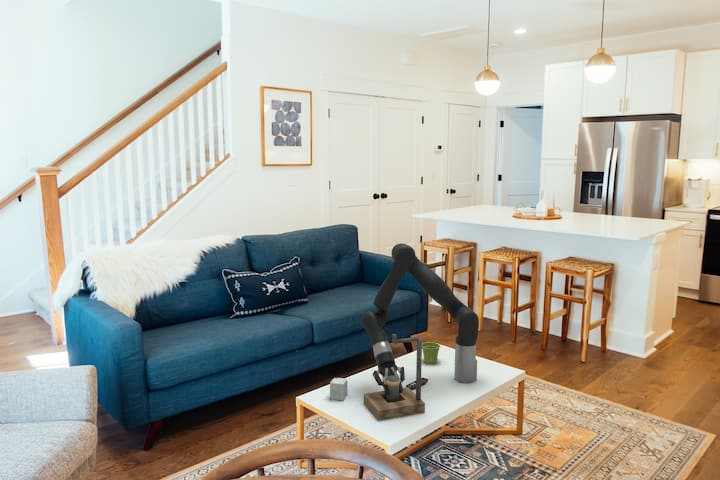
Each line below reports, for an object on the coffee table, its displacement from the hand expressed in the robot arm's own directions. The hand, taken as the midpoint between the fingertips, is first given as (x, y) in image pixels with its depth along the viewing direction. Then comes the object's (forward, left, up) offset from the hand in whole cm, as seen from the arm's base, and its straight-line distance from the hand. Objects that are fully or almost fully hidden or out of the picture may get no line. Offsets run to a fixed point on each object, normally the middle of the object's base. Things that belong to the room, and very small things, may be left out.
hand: (394, 393), depth 222 cm
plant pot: (-37, -40, -7) cm, 55 cm away
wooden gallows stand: (0, -1, -7) cm, 7 cm away
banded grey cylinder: (0, -2, -5) cm, 6 cm away
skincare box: (+18, -18, -7) cm, 26 cm away
